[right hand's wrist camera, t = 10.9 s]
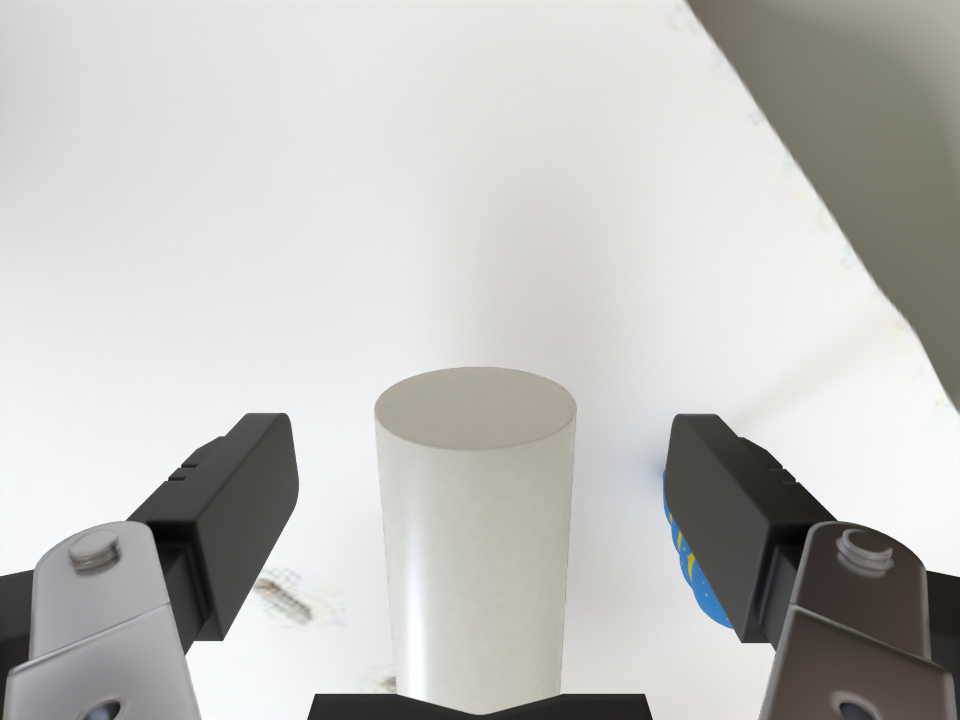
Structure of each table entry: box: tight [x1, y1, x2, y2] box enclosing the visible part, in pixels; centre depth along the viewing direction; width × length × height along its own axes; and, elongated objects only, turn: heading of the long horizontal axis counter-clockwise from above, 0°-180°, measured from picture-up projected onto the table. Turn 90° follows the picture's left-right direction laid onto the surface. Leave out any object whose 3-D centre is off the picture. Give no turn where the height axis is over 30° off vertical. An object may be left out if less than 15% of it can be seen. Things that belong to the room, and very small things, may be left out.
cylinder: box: [374, 367, 577, 715], centre depth 20 cm, size 26×6×6 cm, turn 1°
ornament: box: [663, 471, 733, 629], centre depth 33 cm, size 5×5×15 cm
